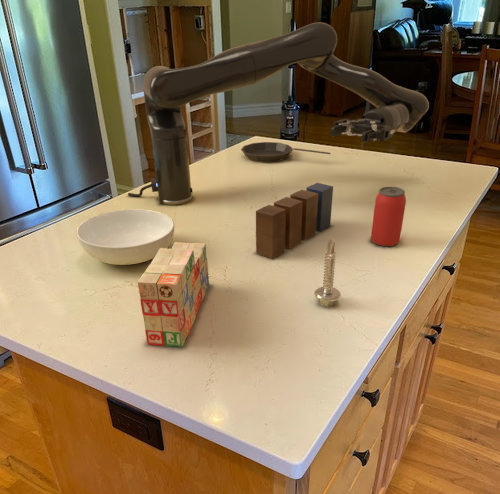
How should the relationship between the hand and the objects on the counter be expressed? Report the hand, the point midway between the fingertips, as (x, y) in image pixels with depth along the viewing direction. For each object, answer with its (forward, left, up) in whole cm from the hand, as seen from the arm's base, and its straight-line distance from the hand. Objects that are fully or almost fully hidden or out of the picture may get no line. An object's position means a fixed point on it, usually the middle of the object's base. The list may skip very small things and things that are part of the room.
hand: (347, 135), depth 122 cm
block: (-9, -7, -20) cm, 22 cm away
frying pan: (-1, +51, -20) cm, 55 cm away
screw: (-18, -42, -20) cm, 50 cm away
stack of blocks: (-45, -39, -20) cm, 63 cm away
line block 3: (-14, -11, -20) cm, 26 cm away
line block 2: (-18, -14, -20) cm, 31 cm away
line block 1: (-23, -18, -20) cm, 35 cm away
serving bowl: (-54, -12, -20) cm, 59 cm away
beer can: (+4, -19, -20) cm, 28 cm away
